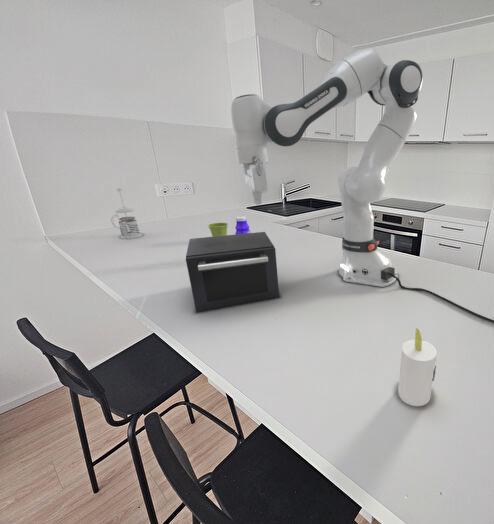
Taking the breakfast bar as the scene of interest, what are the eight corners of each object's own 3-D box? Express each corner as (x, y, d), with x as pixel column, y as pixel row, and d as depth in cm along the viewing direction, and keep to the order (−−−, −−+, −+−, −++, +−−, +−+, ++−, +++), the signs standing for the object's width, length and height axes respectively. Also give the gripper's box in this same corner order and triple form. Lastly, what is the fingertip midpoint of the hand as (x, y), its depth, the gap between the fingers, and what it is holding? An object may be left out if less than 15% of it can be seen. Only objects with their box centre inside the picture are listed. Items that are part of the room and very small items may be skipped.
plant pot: (211, 239, 154) (208, 223, 151) (230, 237, 157) (228, 221, 154) (209, 244, 146) (206, 227, 143) (229, 243, 149) (227, 226, 146)
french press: (146, 235, 160) (134, 188, 151) (121, 240, 151) (107, 190, 142) (137, 232, 165) (125, 186, 156) (112, 237, 155) (98, 188, 146)
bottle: (247, 259, 128) (242, 219, 122) (235, 257, 129) (230, 218, 123) (255, 253, 134) (251, 215, 128) (244, 252, 136) (239, 215, 129)
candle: (429, 410, 55) (439, 343, 49) (394, 400, 57) (400, 334, 51) (433, 387, 60) (442, 324, 55) (401, 378, 62) (407, 316, 57)
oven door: (281, 302, 92) (277, 252, 86) (195, 319, 83) (184, 263, 77) (278, 295, 96) (274, 246, 90) (196, 310, 87) (185, 256, 81)
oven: (278, 295, 97) (274, 246, 90) (196, 310, 87) (185, 256, 81) (268, 275, 112) (264, 231, 106) (198, 285, 103) (189, 238, 97)
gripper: (269, 157, 80) (274, 208, 85) (258, 156, 97) (262, 198, 102) (245, 158, 77) (252, 210, 83) (237, 156, 95) (243, 199, 100)
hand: (258, 203), depth 93 cm, fingers closed
